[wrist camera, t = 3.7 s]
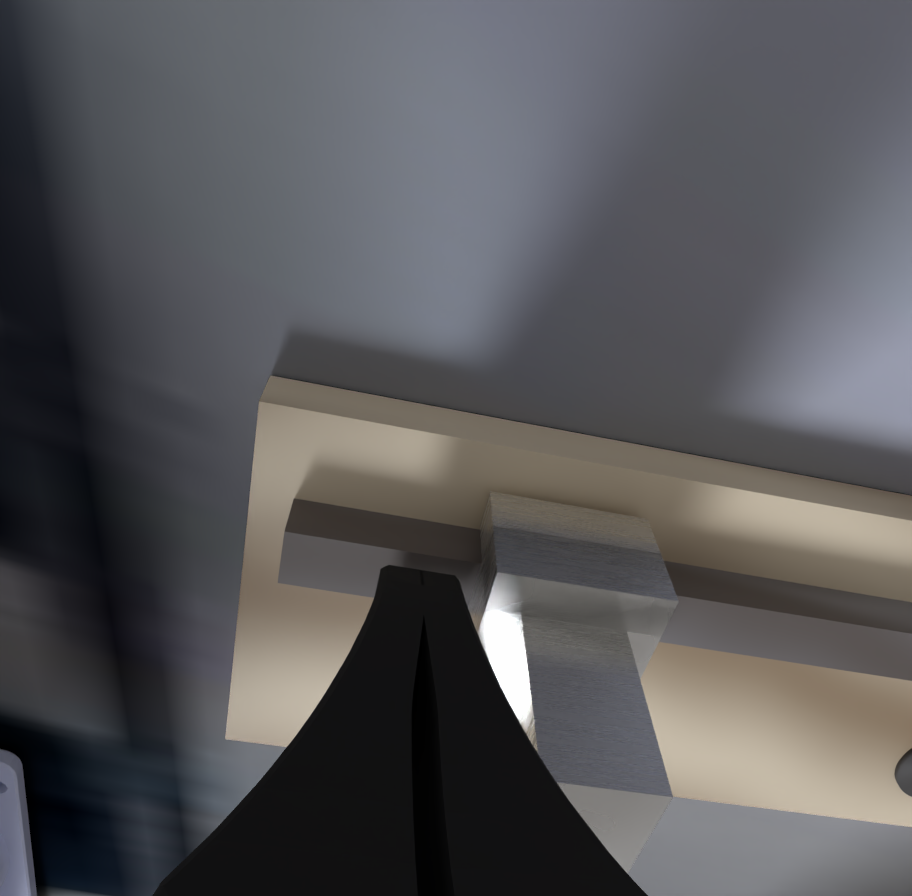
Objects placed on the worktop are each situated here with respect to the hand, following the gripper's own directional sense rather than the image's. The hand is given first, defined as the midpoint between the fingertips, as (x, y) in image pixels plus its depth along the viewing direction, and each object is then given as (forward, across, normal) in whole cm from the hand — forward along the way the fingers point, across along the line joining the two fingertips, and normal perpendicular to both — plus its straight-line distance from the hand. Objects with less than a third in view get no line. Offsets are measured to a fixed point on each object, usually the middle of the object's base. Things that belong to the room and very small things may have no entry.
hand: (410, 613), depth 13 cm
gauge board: (+3, -7, +2) cm, 8 cm away
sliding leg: (+2, -3, +2) cm, 4 cm away
